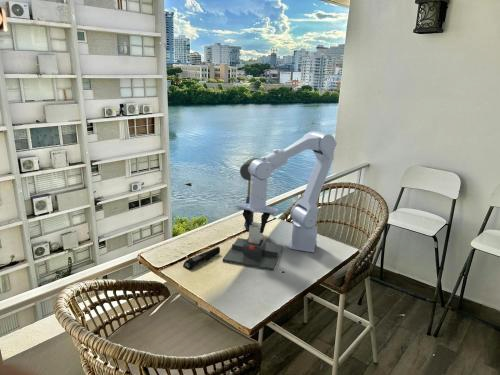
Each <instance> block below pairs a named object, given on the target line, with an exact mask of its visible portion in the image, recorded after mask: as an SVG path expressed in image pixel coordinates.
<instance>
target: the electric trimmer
mask: <svg viewBox="0 0 500 375" xmlns="http://www.w3.org/2000/svg"><path fill="white" fill-rule="evenodd" d="M220 252H221V248H220V246H216V247H214V248H212V249H209V250H207V251H204V252H202V253H200V254H197V255H195V256H192V257H189V258H187V259H186V260H185V261H184V263H183V265H182V266H183V268H184V269H186V270H187V271H190V270H193V268H195V267H196V266H198V265H200V264H202V263H203V262H207V261H210V260H212V259H213V258H215V257H216V256H218V255H219V254H221V253H220Z"/></svg>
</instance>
